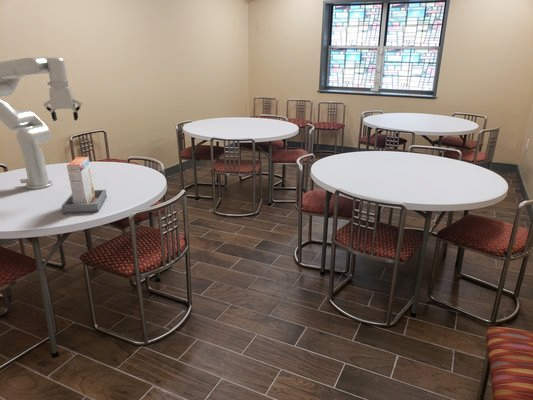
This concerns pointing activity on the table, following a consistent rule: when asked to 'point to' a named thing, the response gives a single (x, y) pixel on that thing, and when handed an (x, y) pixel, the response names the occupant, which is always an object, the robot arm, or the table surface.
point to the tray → (85, 208)
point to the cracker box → (81, 180)
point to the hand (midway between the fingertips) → (65, 120)
